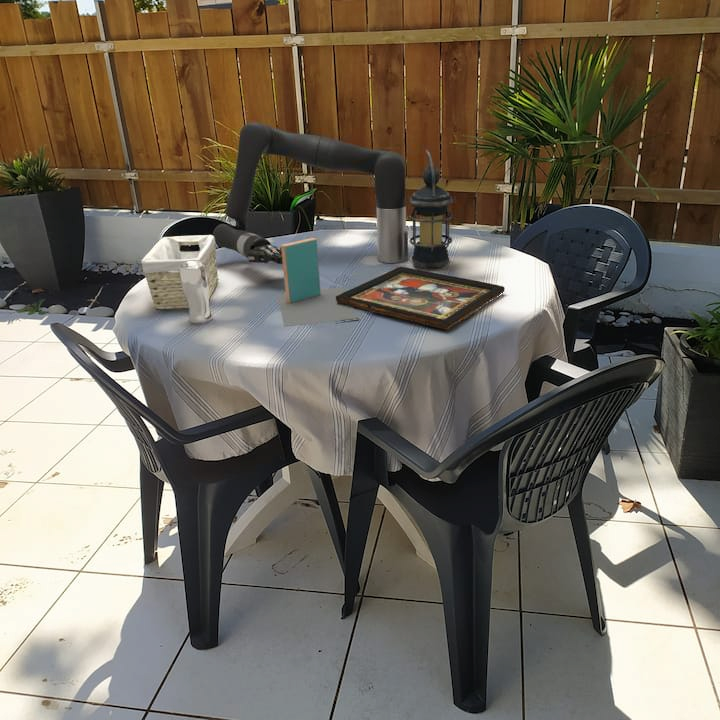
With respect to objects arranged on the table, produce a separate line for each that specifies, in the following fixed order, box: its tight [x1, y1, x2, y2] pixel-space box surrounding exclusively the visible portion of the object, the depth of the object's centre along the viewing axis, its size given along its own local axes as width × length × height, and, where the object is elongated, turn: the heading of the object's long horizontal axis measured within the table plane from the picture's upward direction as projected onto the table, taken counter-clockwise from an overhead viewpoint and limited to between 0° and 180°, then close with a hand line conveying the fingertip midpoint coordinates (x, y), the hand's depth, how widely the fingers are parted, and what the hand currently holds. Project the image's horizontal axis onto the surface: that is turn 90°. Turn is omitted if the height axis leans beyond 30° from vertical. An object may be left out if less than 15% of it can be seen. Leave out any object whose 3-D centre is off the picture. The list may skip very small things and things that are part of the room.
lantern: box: [408, 149, 454, 269], centre depth 197 cm, size 14×13×35 cm
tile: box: [280, 237, 321, 303], centre depth 178 cm, size 2×10×16 cm, turn 126°
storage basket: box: [140, 234, 220, 310], centre depth 186 cm, size 24×16×15 cm
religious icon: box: [336, 266, 505, 330], centre depth 178 cm, size 38×35×3 cm
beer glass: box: [179, 261, 214, 325], centre depth 169 cm, size 7×7×15 cm
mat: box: [276, 287, 360, 327], centre depth 176 cm, size 19×24×1 cm
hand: (282, 260), depth 185 cm, fingers closed
